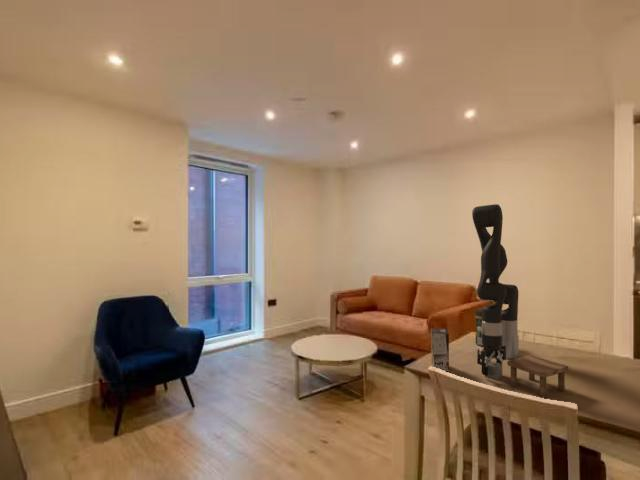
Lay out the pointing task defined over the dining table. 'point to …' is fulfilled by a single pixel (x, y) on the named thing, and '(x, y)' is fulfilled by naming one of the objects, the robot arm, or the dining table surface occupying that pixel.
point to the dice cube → (494, 370)
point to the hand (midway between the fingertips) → (491, 373)
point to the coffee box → (440, 348)
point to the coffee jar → (478, 326)
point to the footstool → (538, 371)
